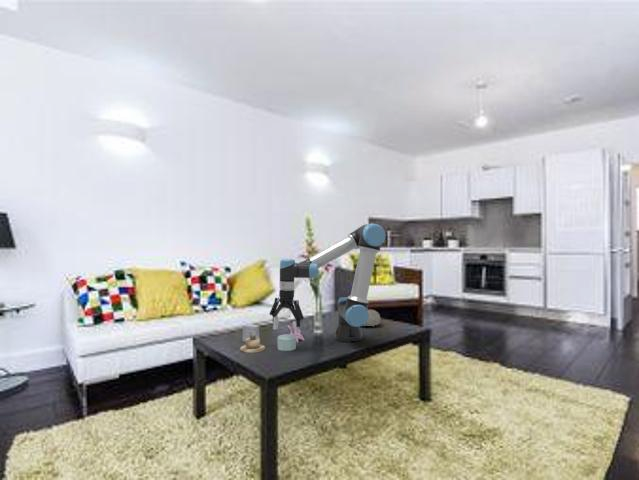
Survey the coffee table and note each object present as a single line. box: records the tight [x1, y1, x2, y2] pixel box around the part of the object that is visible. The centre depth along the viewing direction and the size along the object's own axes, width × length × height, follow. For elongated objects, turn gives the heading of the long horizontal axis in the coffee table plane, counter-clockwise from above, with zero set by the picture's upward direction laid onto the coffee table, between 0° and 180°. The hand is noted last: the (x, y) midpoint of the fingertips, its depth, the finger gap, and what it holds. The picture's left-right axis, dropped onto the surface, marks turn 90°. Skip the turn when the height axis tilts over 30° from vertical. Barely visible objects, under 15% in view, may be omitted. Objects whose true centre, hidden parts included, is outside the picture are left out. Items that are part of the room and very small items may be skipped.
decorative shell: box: [361, 308, 382, 327], centre depth 239 cm, size 18×18×10 cm
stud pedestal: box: [240, 331, 266, 354], centre depth 186 cm, size 12×12×9 cm
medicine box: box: [242, 324, 260, 343], centre depth 200 cm, size 8×4×9 cm, turn 74°
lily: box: [287, 320, 305, 344], centre depth 202 cm, size 12×12×10 cm
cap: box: [277, 333, 297, 352], centre depth 188 cm, size 9×9×6 cm
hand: (285, 331), depth 188 cm, fingers open, 13 cm apart
